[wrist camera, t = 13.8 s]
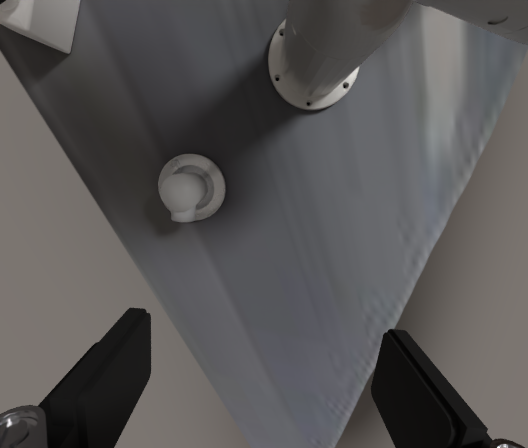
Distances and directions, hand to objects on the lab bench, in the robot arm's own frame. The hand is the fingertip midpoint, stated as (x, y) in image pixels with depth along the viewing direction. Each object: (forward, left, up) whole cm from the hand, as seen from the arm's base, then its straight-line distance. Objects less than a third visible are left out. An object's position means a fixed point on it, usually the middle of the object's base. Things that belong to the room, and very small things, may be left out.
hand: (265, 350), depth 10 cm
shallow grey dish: (-2, -11, -32) cm, 34 cm away
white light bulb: (-2, -11, -31) cm, 33 cm away
